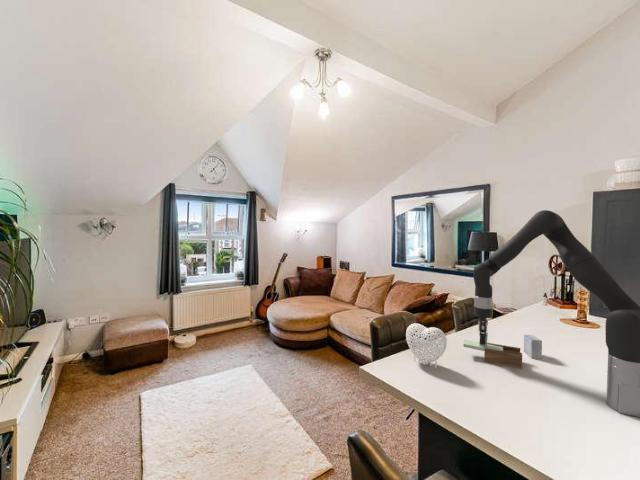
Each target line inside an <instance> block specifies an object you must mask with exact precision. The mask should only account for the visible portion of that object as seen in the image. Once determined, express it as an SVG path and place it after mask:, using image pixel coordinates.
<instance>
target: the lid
mask: <svg viewBox="0 0 640 480" xmlns="http://www.w3.org/2000/svg"><path fill="white" fill-rule="evenodd" d="M481 333H482V332H481ZM482 334H485V333H482ZM488 335H489V333H488V331H487V332H486V337H485V345H482V344H480V341H479V342H478V341H473V340H469V339H464V340H463V346H462V347H464V348H467V349H472V350H476V351H482V352H485V348H488V349H494V350H500V351H503V347H499V346H494V345H489V344H487V343H488Z"/></svg>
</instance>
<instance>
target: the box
mask: <svg viewBox="0 0 640 480" xmlns="http://www.w3.org/2000/svg"><path fill="white" fill-rule="evenodd" d="M487 344H489V345H494V346H499V347H503V351H500V350H494V349H488V348H485V351H484V354H483V355H484V363H489V364H493V365H499V366H505V367H510V368H515V369H521V370H522V369H523V352H521V347H516V346H510V345H503V344H499V343H498V344H497V343H491V342H487Z"/></svg>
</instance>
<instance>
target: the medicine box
mask: <svg viewBox="0 0 640 480" xmlns="http://www.w3.org/2000/svg"><path fill="white" fill-rule="evenodd" d="M523 352H524V354H526V355H528V356H529V357H530V358H531V359H538V360H541V359H543V341H542V339H540V338H539V337H537V336H536V335H534V334H524V335H523Z"/></svg>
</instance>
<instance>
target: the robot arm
mask: <svg viewBox="0 0 640 480" xmlns="http://www.w3.org/2000/svg"><path fill="white" fill-rule="evenodd" d="M542 235H543V236H544V237H545V238H547V240H549V242H550V243H551V244H552V245H553V247H555V249H556V250H557V252H558V255H559V257H560V259H561V261H562V263H563V265H564V266H565V268H566V269H567V270H568V271H569V273H570V275H571V276H572V277H573V279H575V280H576V282H577V283H579V284H580V285H581V286H582V287H583V288H585V289H586V290H587V291H589V292H590V293H591V294H593V295H594V296H596V297H597V298H598V299H599V300H600V301H601V302H602V303H603V305H605V307H606V308H607V310H608V311H609V313H608V314H607V316H606V318H605V327H604V328H605V329H604V330H605V345H606V347H607V371H606V373H607V375H606V400H605V401H606V404H607V406H609V408H611V409H613V410H615V411H617V412H618V413H619V414H624V415H628V416H632V417H638V418H640V305H639V304H638V303H636V301H635V300H633V298H631V296H629V294H628V293H626V292H625V290H624V289H623V288H622V287H621V286H620V284H619V283H618V282H617V281H616V280H615V278H614V277H613V276H612V275H611V274H610V272H608V271H607V269H606V268H605V266H604V265H603V264H602V263H601V262H600V261H599V260H598V259H597V257H596V256H595V255H594V254H593V253H592V252H591V251H590V250H589V249H588V248H587V247H586V246H585V245H584V244H583V243H582V242H580V241H579V240H578V239H577V238H576V237H575V235H574V233H572V231H571V230H570V228H569V226H568V225H567V224H566V222H565V221H564V219H563V217H562V216H561V215H559V214H557V213H556V212H554V211H552V210H547V209H545V210H540V211H538V212H535V213H534V215H533V216H531V218H530V219H529V220H528V221H527V222H525V224H524V225H523V226H522V228H520V229H519V231H517V232H516V234H515V235H513V236H512V237H511V238H510V239H508V241H506V242H505V243H504V244H503V245H502V246H500V247H499V248H497V249H496V250H495V251H493V253H492V254H491V255H490V256H489V258H487V259H485V261H483V262H482V263H478V264H476V265H475V266H474V268H473V271H472V272H473V273H472V274H473V275H472V277H473V281H474V299H473V303H474V304H473V315H474V316H475V317H476V318H478V320H477V324H478V331H479V333H478V335H479V342H480V344H482V345H485V337H486V332H487V333H488V325H489V323H488V322H489V321H488V319H491V318H493V311H494V309H493V308H494V306H493V305H494V304H493V303H494V301H493V285H491V277H493V276H494V275H496V273H498V272H499V271H500V270H501V269H502V268H503V267H504V266H506V265H507V264H509V263H511V261H513V260H514V259H516V258H517V257H518V256H519V255H520V254H521V253H522V252H523V251H524V249H525V248H526V247H527V246H528V245H529V243H531V242H532V241H533V240H535V239H537V238H538V237H539V236H542ZM481 332H482V333H485V334H482V333H481Z"/></svg>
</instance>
